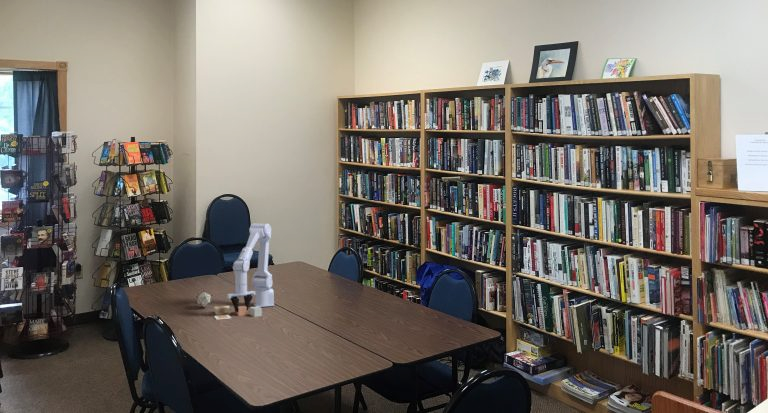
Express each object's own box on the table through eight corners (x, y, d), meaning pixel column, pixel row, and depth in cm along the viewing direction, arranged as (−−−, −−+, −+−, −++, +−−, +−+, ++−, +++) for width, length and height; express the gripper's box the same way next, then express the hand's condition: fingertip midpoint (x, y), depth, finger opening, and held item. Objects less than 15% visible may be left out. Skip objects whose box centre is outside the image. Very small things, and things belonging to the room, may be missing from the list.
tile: (228, 315, 307) (228, 314, 307) (231, 318, 301) (231, 317, 301) (214, 316, 304) (214, 315, 304) (216, 319, 298) (216, 318, 298)
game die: (207, 310, 318) (207, 291, 317) (192, 310, 320) (192, 291, 319) (215, 307, 327) (215, 288, 326) (201, 306, 328) (200, 288, 328)
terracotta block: (244, 313, 313) (244, 305, 312) (246, 315, 308) (246, 307, 308) (236, 313, 311) (236, 305, 311) (238, 315, 306) (238, 307, 306)
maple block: (228, 311, 318) (228, 305, 318) (230, 314, 311) (230, 308, 311) (214, 312, 315) (214, 306, 315) (216, 315, 309) (216, 309, 309)
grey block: (256, 314, 311) (256, 306, 310) (261, 315, 307) (261, 307, 307) (249, 315, 308) (249, 307, 308) (254, 317, 304) (254, 308, 304)
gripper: (250, 281, 316) (250, 307, 317) (224, 284, 307) (224, 311, 308) (257, 283, 311) (257, 309, 312) (230, 286, 302) (230, 313, 302)
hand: (241, 310), depth 309 cm, fingers closed on terracotta block, 5 cm apart
